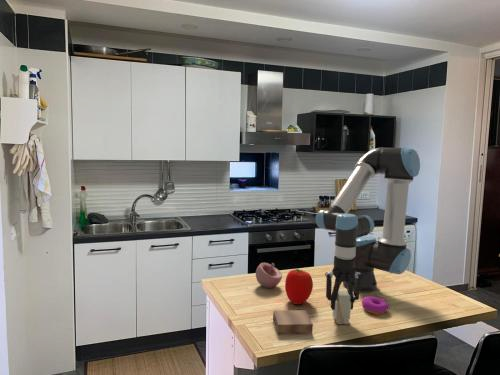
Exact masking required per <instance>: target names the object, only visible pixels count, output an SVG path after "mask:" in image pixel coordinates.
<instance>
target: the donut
mask: <svg viewBox="0 0 500 375" xmlns="http://www.w3.org/2000/svg"><path fill="white" fill-rule="evenodd" d="M361 304H362V305H361V306H362V308H363V309H364V311H366V312H368V313H369V314H371V315H372V314H373V315H375V316H379V315H382V314H384V313H386V312H387V311H388V310H389V304H388V303H387V302H386V301H385V300H384V299H382V298H380V297H378V296H377V297H375V296H365V297H364V298H363V299H362V300H361Z"/></svg>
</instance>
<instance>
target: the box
mask: <svg viewBox="0 0 500 375" xmlns="http://www.w3.org/2000/svg"><path fill="white" fill-rule="evenodd" d="M336 301H337V302H338V307H337V319H334V318H333V320H334V321H335V323H336V324H337V325H348V324H349V322H350V321H349V320H350V319H349V309H350V295H349V293H348V291H347V289H346V290H339V291H338V295H337V298H336Z"/></svg>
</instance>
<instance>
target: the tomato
mask: <svg viewBox="0 0 500 375" xmlns="http://www.w3.org/2000/svg"><path fill="white" fill-rule="evenodd" d="M284 282H285V284H284V286H285V287H284V290H285V293H286V297H287V299H288V300H289V301H290V302H291V303H292V304H294V305H302V304H303V303H306V301H307V300H308V299H309V298H310V297H311V294H312V292H313V287H314V282H313V278H312V276H311V274H310V273H309V272H307V271H305V270H304V269H299V268H295V269H292V270H289V272H288V273H287V275H286V278H285V281H284Z"/></svg>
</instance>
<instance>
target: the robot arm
mask: <svg viewBox="0 0 500 375" xmlns="http://www.w3.org/2000/svg"><path fill="white" fill-rule="evenodd" d="M420 169H421V161H420V156H419V154H418V151H416V150H415V149H413V148H407V147H384V146H383V147H382V146H381V147H377V148H373V149H371V150H369V151H368V152H366V153H365V154H363V155H362V156H361V157H360V158H359V159H358V160H357V162H356V163H355V165H354V166H353V172H352V173H351V175H350V176H349V178H348V179H347V180H346V182H345V183H344V185H343V186H342V188H341V189H340V191H339V192H338V194H337V195H336V196H335V198H334V199H333V201H332V202H331V204H330V206H329V207H328V208H327V209H324V210H323V209H321V210H319V211H318V212H317V213H316V215H315V224H316V226H317V227H318V228H320V229H322V230H326V231H333V232H334V233H335V234H334V236H335V237H334V238H335V240H334V252H333V253H334V257H333V268H332V271H330V272H325V274H324V275H325V278H326V284H325V286H326V289H325V298H326V299H327V300H328V301H330V308H331V310H332V317H333V320H334V319H337V307H338V302H337V301H336V298H337V295H338V291H340V287H341V285H342V284H343V286H344V287H345V288H346V291H347V292H348V293H349V295H350V309H349V320H350V319H351V310H353V309H354V303H355V302H356V301H359V299H360V293H370V292H374V291H376V290H377V287H378V286H377V285H378V284H377V279H376V275H375V270H379V271H384V272H387V273H389V274H395V275H402V274H404V273H405V271H406V270H407V269H408V267H409V264H410V261H411V257H412V254H411V250H410V249H409V248H407V246H408V245H407V242H406V241H405V240H404V236H405V227H406V216H407V205H408V198H409V196H408V195H409V185H410V184H412V182H413V181H414V177H418V175H419V173H420ZM378 174H381V175H384V180H385V181H386V182H387V187H386V196H385V205H384V218H383V225H382V226H383V228H382V236H381V237H380V238H379V239H378V241H377V238H376V237H373V236H368V235H370V234H371V233H372V232H373V231H374V230H375V222H374V220H373V218H372V217H371V216H369V215H367V214H364V215H363V214H362V215H356V214H353V213H349V212H350V210H351V208H352V207H353V205H354V204H355V202H356V201H357V199H358V198H359V197H360V195H361V193H362V192H363V190H364V188H365V187H366V185H367V184H368V183H369V181H370V180H372V179H373V178H374V177H375V176H376V175H378ZM333 276H334V277H335V278H334V285H333V284H332V283H333V281H332V279H333ZM332 285H333V288H332Z"/></svg>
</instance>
